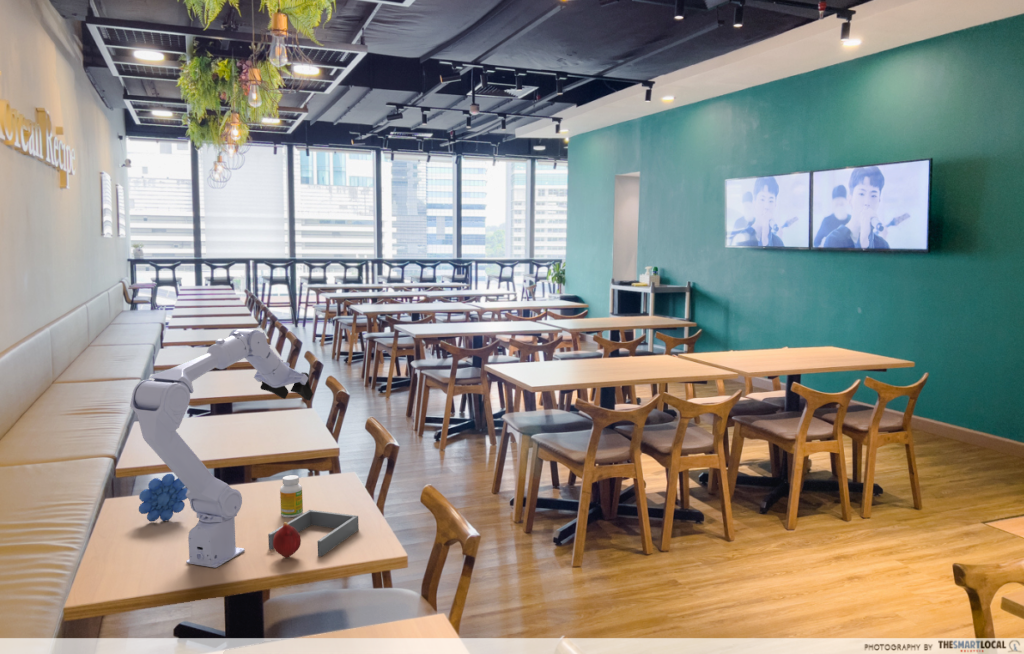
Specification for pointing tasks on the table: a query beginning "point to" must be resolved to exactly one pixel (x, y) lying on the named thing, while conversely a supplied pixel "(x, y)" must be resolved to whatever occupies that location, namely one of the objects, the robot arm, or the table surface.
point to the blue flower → (163, 498)
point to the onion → (286, 540)
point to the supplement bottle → (291, 497)
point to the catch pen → (326, 519)
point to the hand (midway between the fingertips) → (298, 396)
